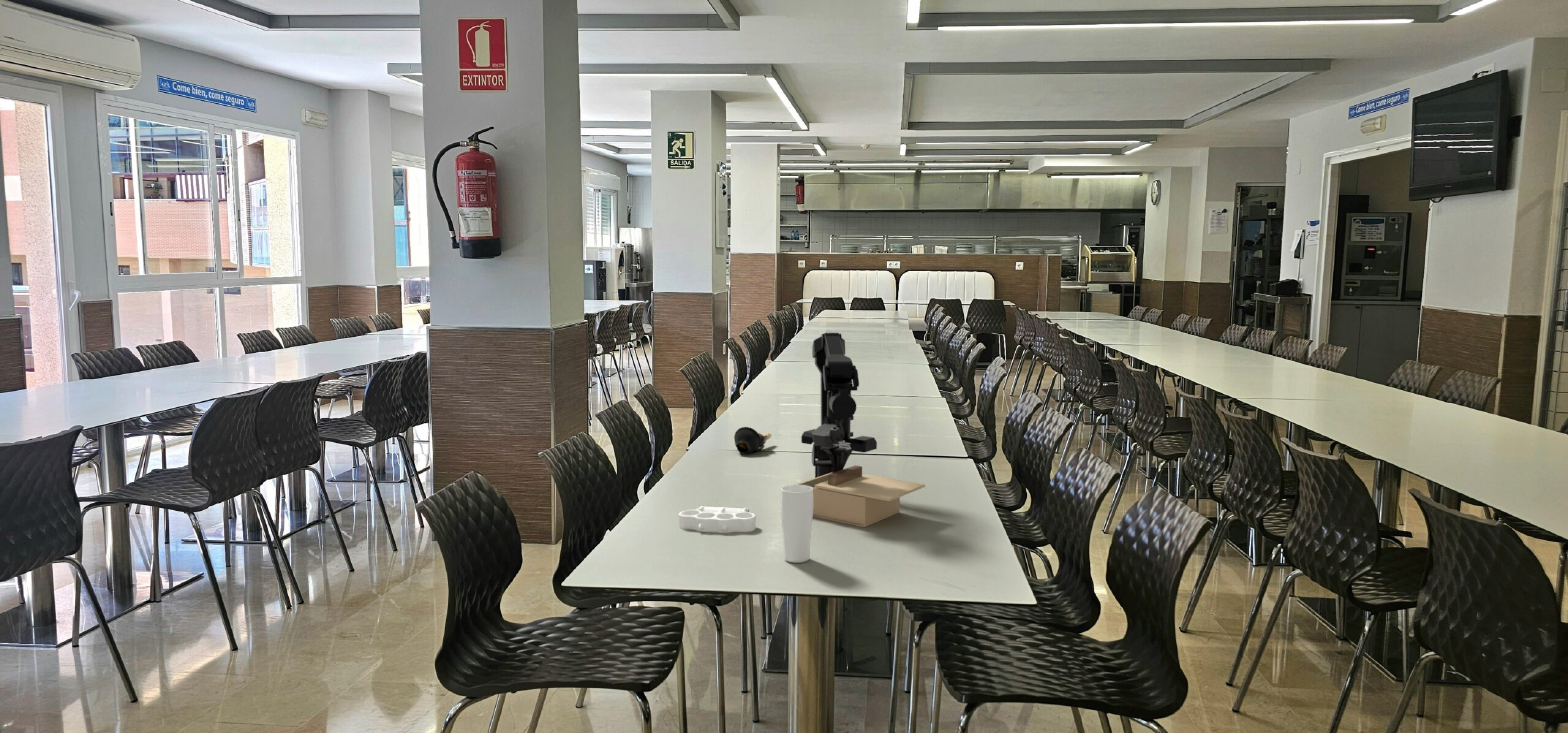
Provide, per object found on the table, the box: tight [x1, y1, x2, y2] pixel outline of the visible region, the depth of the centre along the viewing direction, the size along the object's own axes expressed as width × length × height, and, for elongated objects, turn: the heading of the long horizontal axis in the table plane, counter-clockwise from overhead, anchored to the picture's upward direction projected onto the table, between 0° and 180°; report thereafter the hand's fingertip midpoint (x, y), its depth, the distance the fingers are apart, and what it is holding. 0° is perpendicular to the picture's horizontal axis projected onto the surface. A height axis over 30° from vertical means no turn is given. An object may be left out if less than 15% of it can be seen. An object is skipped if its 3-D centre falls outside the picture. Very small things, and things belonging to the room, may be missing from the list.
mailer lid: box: [815, 465, 926, 501], centre depth 222 cm, size 21×17×3 cm
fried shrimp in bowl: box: [733, 426, 772, 455], centre depth 298 cm, size 9×11×18 cm
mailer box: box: [794, 473, 901, 528], centre depth 226 cm, size 20×16×7 cm
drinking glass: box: [780, 484, 814, 564], centre depth 190 cm, size 7×7×15 cm
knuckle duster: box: [678, 505, 757, 534], centre depth 216 cm, size 3×18×15 cm
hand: (838, 475), depth 227 cm, fingers closed
